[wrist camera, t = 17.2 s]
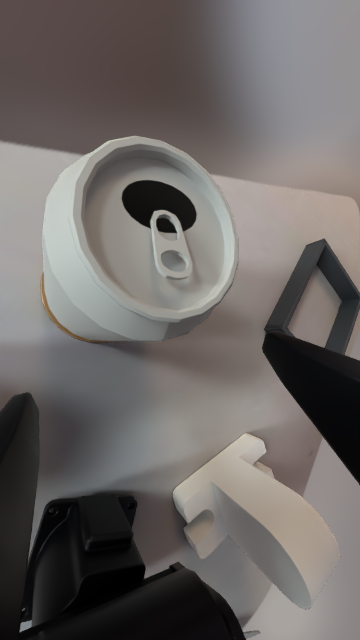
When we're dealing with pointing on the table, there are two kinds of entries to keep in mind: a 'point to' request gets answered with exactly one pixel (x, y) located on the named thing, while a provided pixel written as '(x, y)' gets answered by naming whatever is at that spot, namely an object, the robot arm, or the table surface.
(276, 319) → the dark grey rectangular frame
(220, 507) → the white phone stand
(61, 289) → the can
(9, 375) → the table surface
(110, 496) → the robot arm
